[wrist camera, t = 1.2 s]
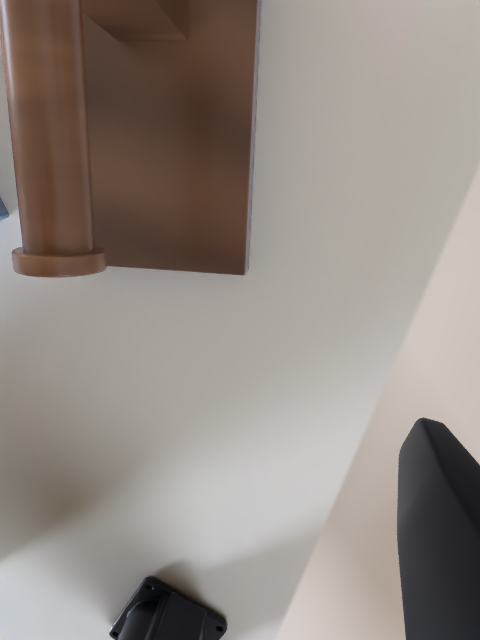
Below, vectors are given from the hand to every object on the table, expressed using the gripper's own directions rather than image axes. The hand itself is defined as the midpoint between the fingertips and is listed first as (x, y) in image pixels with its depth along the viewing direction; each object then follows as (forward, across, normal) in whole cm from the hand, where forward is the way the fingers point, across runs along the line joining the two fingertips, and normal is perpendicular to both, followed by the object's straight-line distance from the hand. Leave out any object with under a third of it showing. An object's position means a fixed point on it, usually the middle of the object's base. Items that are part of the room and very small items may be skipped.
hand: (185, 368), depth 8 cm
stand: (+15, +6, -2) cm, 17 cm away
